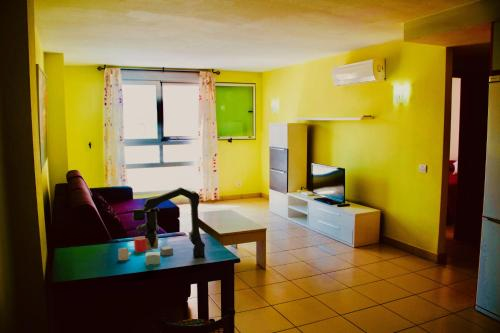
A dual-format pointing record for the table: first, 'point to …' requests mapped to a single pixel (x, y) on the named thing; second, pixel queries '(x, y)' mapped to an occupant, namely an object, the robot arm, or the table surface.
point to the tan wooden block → (166, 250)
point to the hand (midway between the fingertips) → (152, 245)
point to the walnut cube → (154, 244)
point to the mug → (140, 244)
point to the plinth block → (153, 258)
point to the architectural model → (123, 254)
